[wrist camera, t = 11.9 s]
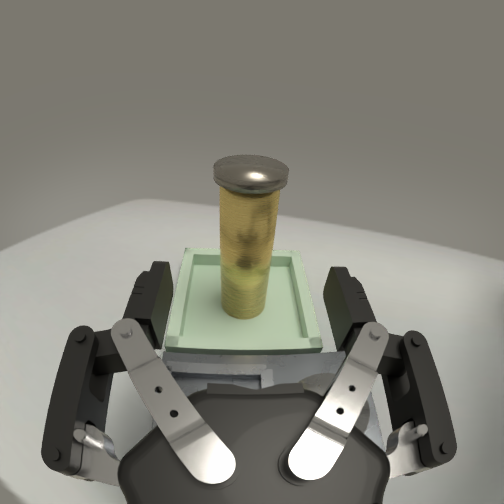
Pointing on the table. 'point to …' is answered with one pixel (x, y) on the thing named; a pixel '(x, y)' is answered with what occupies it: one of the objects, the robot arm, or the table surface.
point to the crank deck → (266, 376)
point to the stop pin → (247, 229)
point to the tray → (237, 330)
